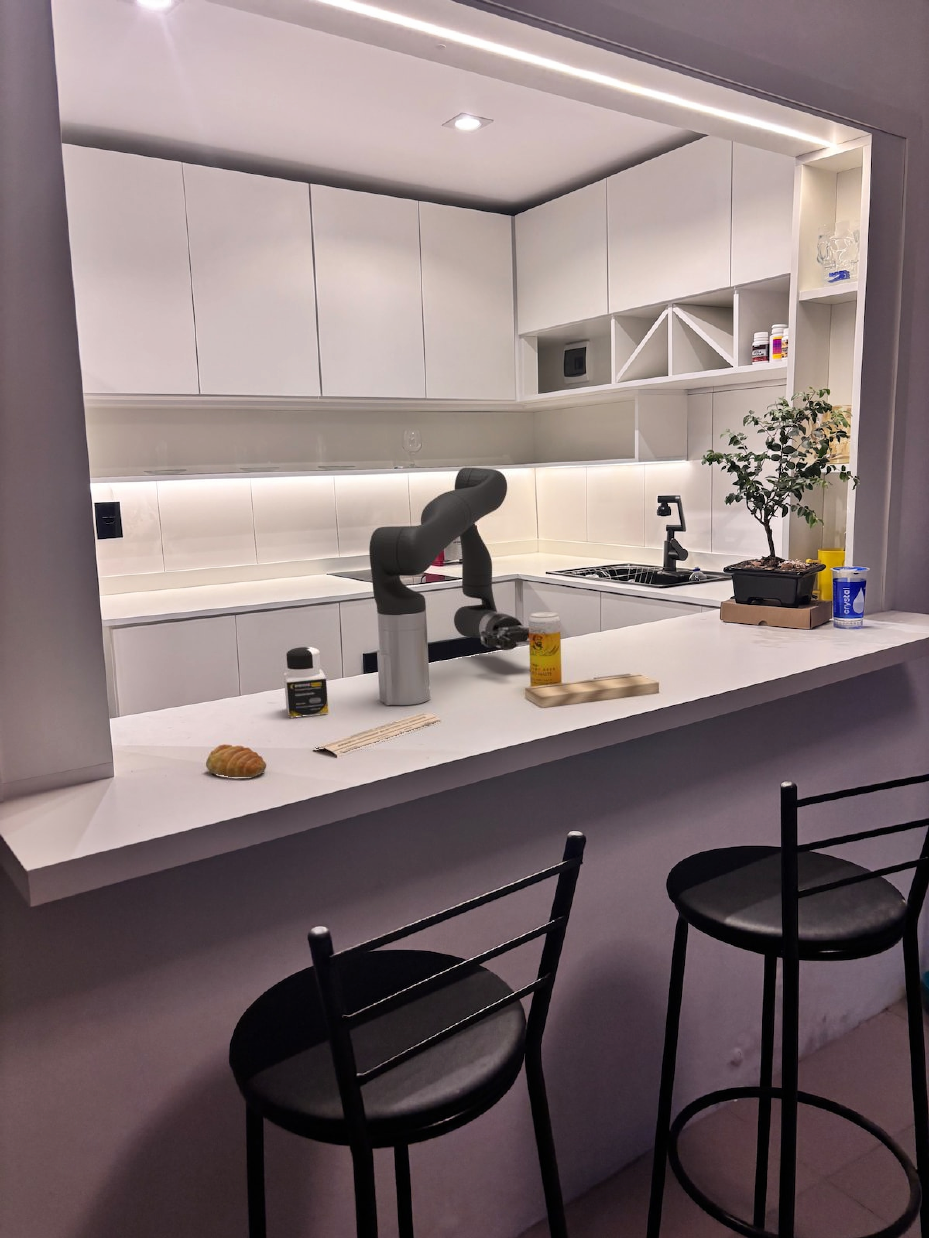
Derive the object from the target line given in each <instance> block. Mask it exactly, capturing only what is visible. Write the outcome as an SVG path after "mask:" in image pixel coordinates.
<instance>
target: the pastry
mask: <svg viewBox="0 0 929 1238" xmlns="http://www.w3.org/2000/svg"><path fill="white" fill-rule="evenodd" d="M207 757H208V758H206V761H205V762H206V763H205V766H206V768H207V769H206V770H208V771H209V772H210V774H211V773H214V775H215V774H218V775H224V776H228V777H253V778H255V777H257V776H259V775H262V774H263V772H264V773H265V770H266V769H267V763H266V762H265V761H264V759H263V756H260V755H259V754H258V752H256V751H253V750H252V749H251V748H250V747H245V746H243V745H235V746H233V745H232V744H225V743H224V744H221V745H218V746H216V747H215V748H214V750H212V751H211V752H210V753H209V755H208V756H207ZM261 773H262V774H261ZM254 776H255V777H254Z"/></svg>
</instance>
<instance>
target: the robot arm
mask: <svg viewBox="0 0 929 1238" xmlns="http://www.w3.org/2000/svg"><path fill="white" fill-rule="evenodd" d="M507 492H508V482H507V479H506V476H505V475H504V474H503V472H501V471H500V470H498V469H494V468H493V469H492V468H479V467H477V468H476V467H463V468H461V469H459V471H458V472H457V474H456V476H455V481H454V489H453V490H449V491H445V492H443V493H442V494H440V495H437V496H436V497H435V498H433V499H432V500H430V502H428V503H427V505H425V506H424V507H423V510H422V512H421V514H420V515H421V516H420V524H419V525H406V526H405V525H403V526H402V525H401V526H400V525H397V526H393V525H391V526H380V527H379V526H378V527H377V528H376V529H375V530H373V532H372V534H371V536H370V540H369V547H368V548H369V549H368V550H369V564H370V565H369V566H370V573H371V582H372V590H373V598H374V602H375V605H376V612H377V613H376V614H377V626H378V627H377V630H378V632H377V633H378V645H379V646H378V648H379V649H377V652H376V655H377V659H376V660H377V673H378V692H379V693H378V694H379V700H380V701H382V703H384V705H386V706H410V705H418V704H422V703H425V702H427V701H429V700H430V699H431V685H430V683H431V682H430V667H429V666H430V665H429V646H428V628H427V627H428V625H427V624H428V623H427V622H428V621H427V610H426V609H427V605H426V598H425V596H424V595H423V594H422V593H419V592H418V591H415V590H413V589H411V588H409V587H408V586H406V585H405V584H404V582H402V580H401V577H403V576H405V577H406V576H412V577H413V576H418V575H421V574H423V573H425V572H426V571H427V570H428V569H429V568H430V567H431V566H432V565H433V563H434V562H435V561H436V560H437V558H438V557H440V554H442V552H443V551H444V550H445V549H446V548H447V547H448V546H449V545H450V544H452V542H454V541H455V540H456V539H458V538H459V540H460V545H461V546H460V548H461V562H462V566H461V567H462V568H461V569H462V570H461V579H462V581H461V586H462V587H461V588H462V593H463V595H464V596H465V597H468V598H472V599H477V600H478V599H479V600H480V601H481V604H475V605H465V606H461V607H459V608H458V609H457V610H456V612H455V613H454V616H453V624H454V627H455V629H456V631H457V632H458V633H459V634H460V635H461V636H463V637H466V638H473V639H474V638H475V639H480V644H482V645H483V646H485V647H486V648H489V649H491V648H494V647H495V648H497V649H499V650H502V651H511V650H513V649H516V648H517V647H518V646H519V645H529V626H524V625H523V624H522V622H521V621H520V620H519V619H518V618H517V617H515V616H512V615H509V614H507V613H504V612H499V611H498V610H497V606H496V602H495V598H494V593H493V562H492V557H491V554H490V552H489V549H488V548H487V546H486V544H485V542H484V540H483V538H482V537H481V535H480V533H479V531H478V529H477V528H478V527H477V526H476V523H477V522H478V521H479V520H481V519H482V518H484V517H485V516H487V515H489V514H491V513H493V512H495V511H496V510H498V509H499V508H500V507H501V505H503V503H504V502H505V499H506V496H507Z"/></svg>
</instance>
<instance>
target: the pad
mask: <svg viewBox="0 0 929 1238" xmlns="http://www.w3.org/2000/svg"><path fill="white" fill-rule="evenodd" d="M625 675H632V674H631V673H625V674H624V673H623V674H616V675H614V674H613V675H608V676H607V675H605V676H600V677H599V676H598V677H593V679H600V678H609V677H617V676H625Z"/></svg>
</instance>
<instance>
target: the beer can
mask: <svg viewBox="0 0 929 1238" xmlns="http://www.w3.org/2000/svg"><path fill="white" fill-rule="evenodd" d="M528 627H529V639H528V641H529V644H528V645H529V677H530V679H529V681H530V682H529V683H530V687H534V686H542V685H551V684H559V683H563V681H562V678H563V677H562V643H561V637H562V636H561V619H560V617H559V613H557V612H551V611H550V612H549V611H543V612H533V613H531V614H530V617H529V618H528Z"/></svg>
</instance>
